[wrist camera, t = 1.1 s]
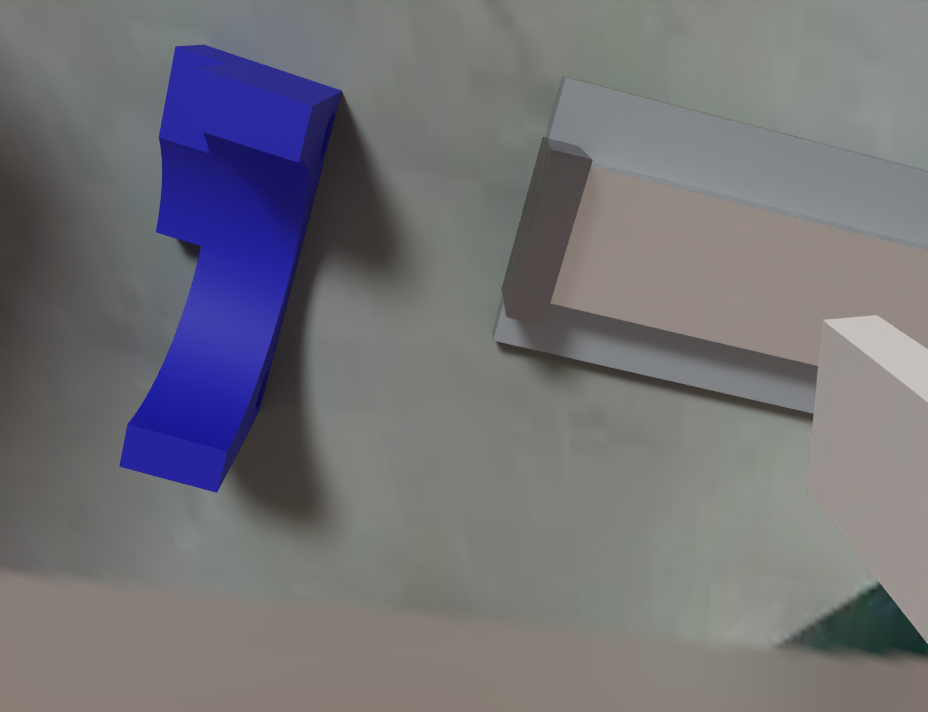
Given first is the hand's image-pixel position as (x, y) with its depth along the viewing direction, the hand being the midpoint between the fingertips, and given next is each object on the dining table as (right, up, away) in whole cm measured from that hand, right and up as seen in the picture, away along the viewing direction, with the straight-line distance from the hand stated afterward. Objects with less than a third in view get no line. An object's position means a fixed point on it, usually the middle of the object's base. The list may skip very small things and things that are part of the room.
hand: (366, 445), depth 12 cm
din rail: (+14, +4, +17) cm, 23 cm away
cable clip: (-6, +5, +17) cm, 19 cm away
